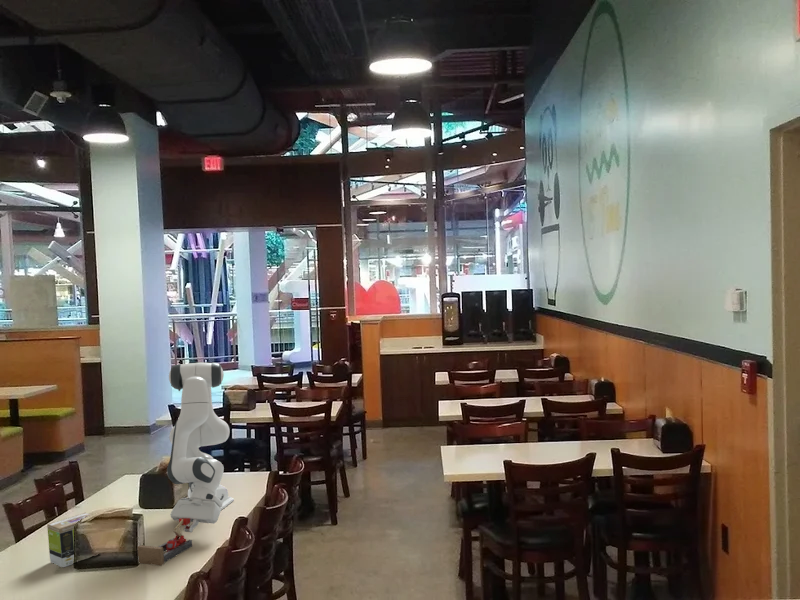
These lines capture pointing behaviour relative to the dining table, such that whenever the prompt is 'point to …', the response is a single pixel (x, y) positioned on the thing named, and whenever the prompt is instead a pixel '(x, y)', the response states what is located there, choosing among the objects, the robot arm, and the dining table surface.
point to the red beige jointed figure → (178, 535)
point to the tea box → (63, 540)
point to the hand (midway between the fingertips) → (187, 531)
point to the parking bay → (160, 553)
